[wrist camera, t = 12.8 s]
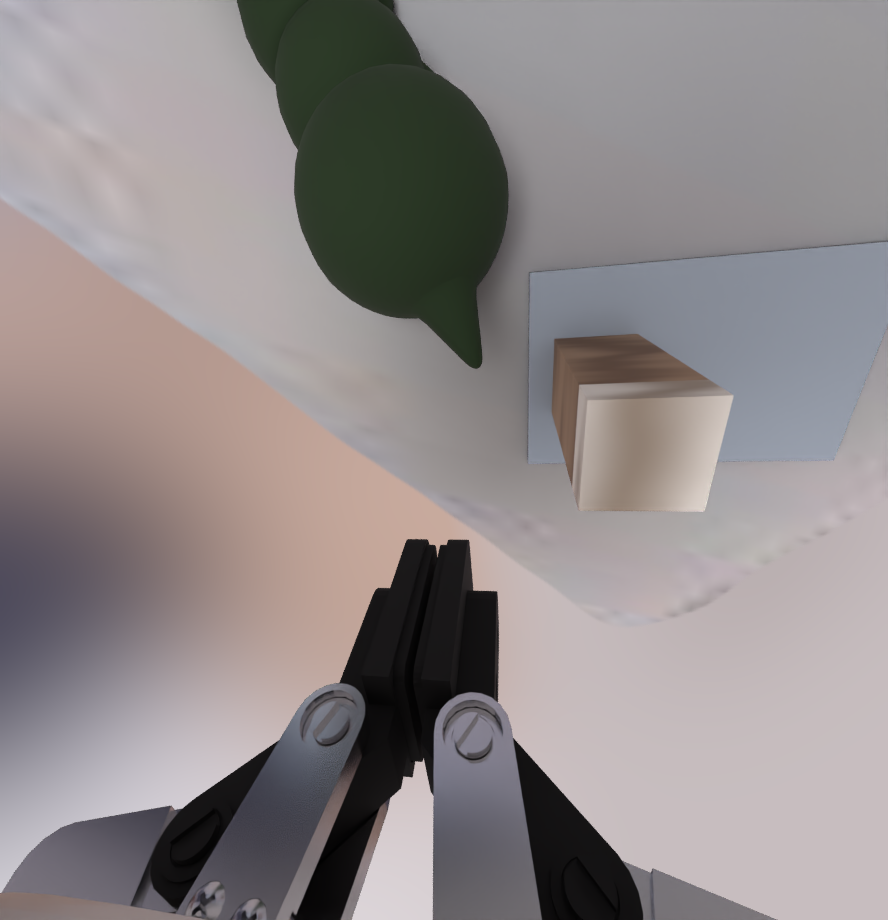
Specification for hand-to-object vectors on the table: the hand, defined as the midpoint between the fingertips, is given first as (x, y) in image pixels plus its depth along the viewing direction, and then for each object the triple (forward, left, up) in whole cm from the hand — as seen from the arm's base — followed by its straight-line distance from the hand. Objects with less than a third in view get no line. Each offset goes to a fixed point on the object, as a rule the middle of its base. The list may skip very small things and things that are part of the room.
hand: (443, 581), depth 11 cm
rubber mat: (-13, 0, -20) cm, 24 cm away
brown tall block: (-7, 0, -19) cm, 20 cm away
